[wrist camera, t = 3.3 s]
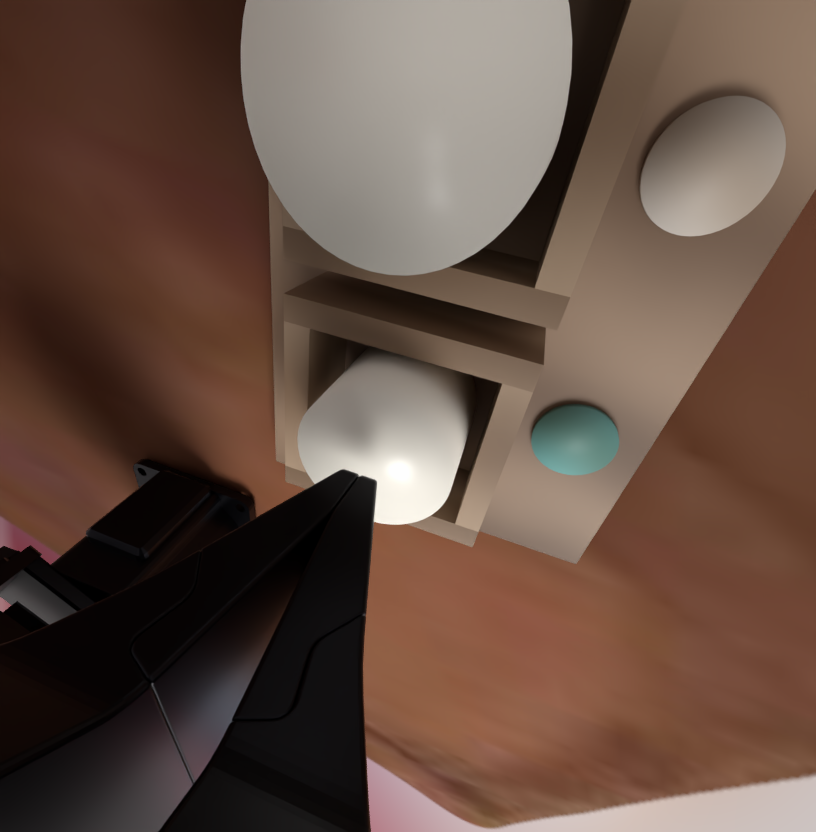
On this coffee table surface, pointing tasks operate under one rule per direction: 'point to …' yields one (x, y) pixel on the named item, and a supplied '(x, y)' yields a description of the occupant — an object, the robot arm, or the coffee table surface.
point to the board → (583, 266)
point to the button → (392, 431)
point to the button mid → (405, 119)
